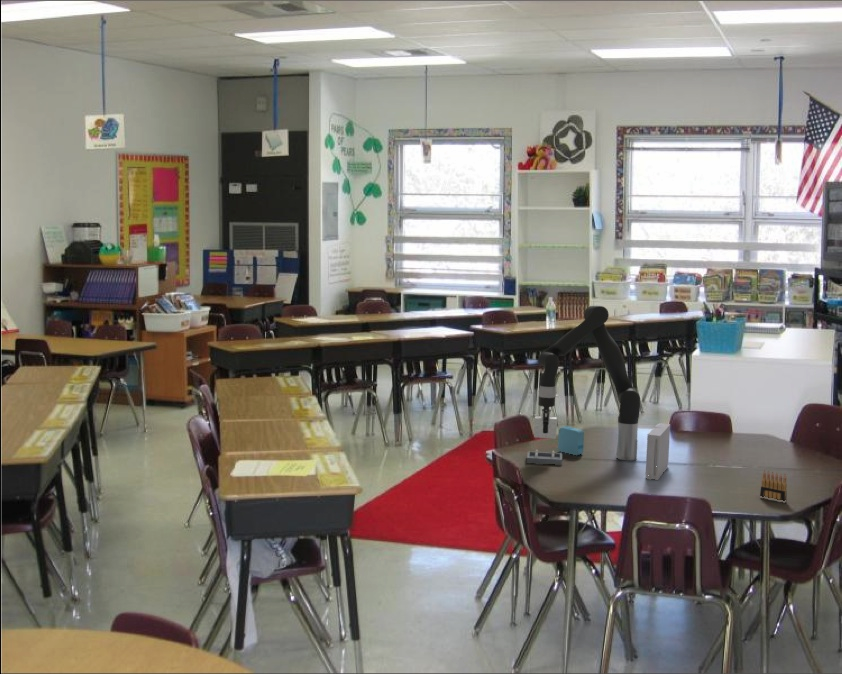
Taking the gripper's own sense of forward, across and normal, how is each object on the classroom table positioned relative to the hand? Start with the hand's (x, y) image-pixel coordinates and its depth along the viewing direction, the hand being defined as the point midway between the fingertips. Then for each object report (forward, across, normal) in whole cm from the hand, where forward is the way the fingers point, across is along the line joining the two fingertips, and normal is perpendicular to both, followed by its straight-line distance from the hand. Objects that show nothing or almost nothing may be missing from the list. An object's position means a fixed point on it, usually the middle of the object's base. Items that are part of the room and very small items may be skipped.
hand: (545, 431), depth 516 cm
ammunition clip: (+14, -48, -94) cm, 107 cm away
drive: (+2, 0, 0) cm, 2 cm away
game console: (+14, -11, -50) cm, 53 cm away
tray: (+14, 0, 0) cm, 14 cm away
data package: (+14, +19, -12) cm, 26 cm away
